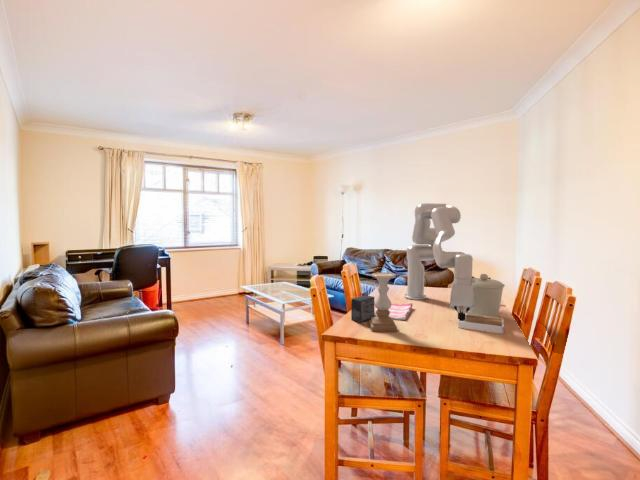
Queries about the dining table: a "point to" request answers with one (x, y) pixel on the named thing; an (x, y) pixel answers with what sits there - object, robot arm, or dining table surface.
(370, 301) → the small box
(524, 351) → the dining table surface
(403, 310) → the dish towel
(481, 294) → the canister
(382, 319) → the candle holder
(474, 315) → the tile
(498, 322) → the tile
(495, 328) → the tray
